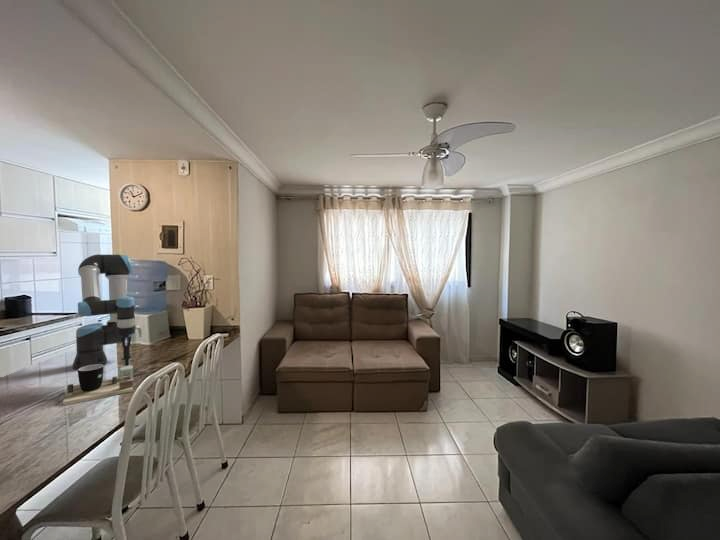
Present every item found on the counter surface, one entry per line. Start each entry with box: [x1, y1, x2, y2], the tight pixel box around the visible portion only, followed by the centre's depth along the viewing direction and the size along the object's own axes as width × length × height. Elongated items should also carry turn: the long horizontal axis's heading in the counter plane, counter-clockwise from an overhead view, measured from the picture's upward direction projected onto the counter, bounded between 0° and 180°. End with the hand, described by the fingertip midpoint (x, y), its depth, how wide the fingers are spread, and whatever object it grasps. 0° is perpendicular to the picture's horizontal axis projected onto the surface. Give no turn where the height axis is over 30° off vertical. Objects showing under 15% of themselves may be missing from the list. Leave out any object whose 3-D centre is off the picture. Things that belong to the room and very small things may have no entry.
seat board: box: [62, 375, 134, 406], centre depth 147 cm, size 20×24×4 cm
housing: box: [119, 364, 134, 381], centre depth 158 cm, size 6×5×5 cm
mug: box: [77, 364, 104, 392], centre depth 146 cm, size 12×9×10 cm
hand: (127, 371), depth 164 cm, fingers closed
